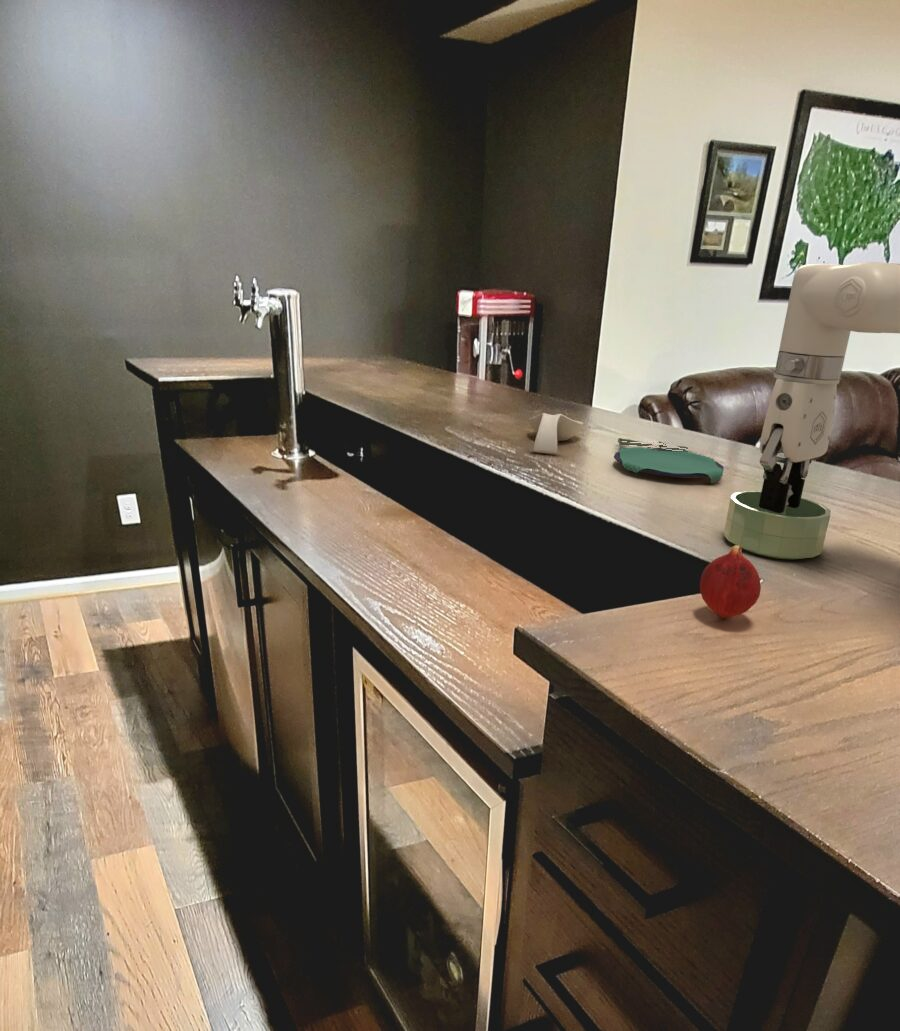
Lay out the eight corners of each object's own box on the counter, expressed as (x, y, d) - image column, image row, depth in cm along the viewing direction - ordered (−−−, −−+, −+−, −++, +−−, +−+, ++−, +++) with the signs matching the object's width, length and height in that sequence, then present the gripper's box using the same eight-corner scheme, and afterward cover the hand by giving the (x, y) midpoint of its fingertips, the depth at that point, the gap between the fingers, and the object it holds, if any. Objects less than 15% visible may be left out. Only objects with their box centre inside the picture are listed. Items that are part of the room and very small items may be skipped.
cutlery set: (615, 479, 127) (617, 466, 126) (607, 443, 155) (609, 433, 155) (732, 490, 124) (734, 477, 124) (703, 452, 153) (705, 441, 152)
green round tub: (800, 534, 103) (809, 494, 101) (836, 566, 92) (846, 521, 90) (713, 527, 104) (720, 487, 102) (738, 558, 92) (746, 513, 91)
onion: (762, 633, 72) (778, 558, 70) (705, 630, 72) (719, 555, 70) (739, 607, 78) (754, 538, 75) (687, 605, 78) (699, 535, 75)
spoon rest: (530, 430, 165) (533, 398, 163) (582, 435, 162) (586, 403, 160) (516, 452, 143) (519, 416, 141) (576, 458, 140) (580, 422, 138)
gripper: (808, 375, 83) (775, 526, 88) (866, 370, 93) (834, 505, 99) (746, 366, 88) (720, 509, 94) (808, 363, 98) (780, 492, 104)
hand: (778, 506), depth 96 cm, fingers open, 3 cm apart
